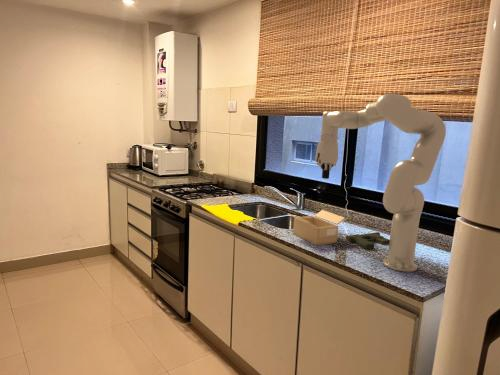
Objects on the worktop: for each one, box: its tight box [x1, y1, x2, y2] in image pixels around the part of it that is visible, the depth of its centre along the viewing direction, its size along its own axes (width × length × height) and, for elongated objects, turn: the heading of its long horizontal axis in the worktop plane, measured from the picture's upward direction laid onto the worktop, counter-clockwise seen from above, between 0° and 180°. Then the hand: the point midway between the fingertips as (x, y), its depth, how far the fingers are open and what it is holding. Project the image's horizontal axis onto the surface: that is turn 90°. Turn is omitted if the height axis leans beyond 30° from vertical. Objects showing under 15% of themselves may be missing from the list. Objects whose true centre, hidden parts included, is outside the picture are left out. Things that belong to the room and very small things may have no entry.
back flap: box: [314, 209, 346, 226], centre depth 178 cm, size 16×5×1 cm, turn 28°
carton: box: [292, 215, 339, 246], centre depth 175 cm, size 19×12×8 cm, turn 28°
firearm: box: [345, 231, 390, 251], centre depth 175 cm, size 3×24×15 cm
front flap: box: [287, 213, 317, 227], centre depth 170 cm, size 16×5×1 cm, turn 28°
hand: (325, 178), depth 172 cm, fingers closed
